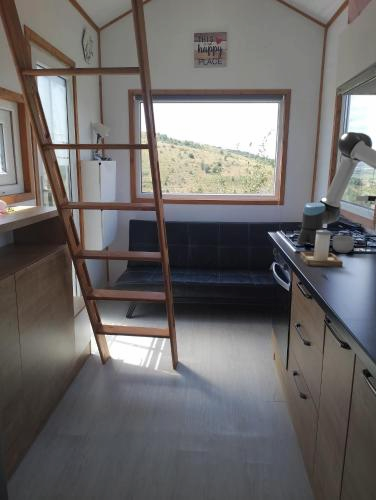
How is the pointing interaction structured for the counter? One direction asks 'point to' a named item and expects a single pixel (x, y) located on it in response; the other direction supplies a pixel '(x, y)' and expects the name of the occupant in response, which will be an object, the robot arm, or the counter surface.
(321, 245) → the canister
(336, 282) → the counter surface
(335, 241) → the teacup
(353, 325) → the counter surface
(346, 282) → the counter surface
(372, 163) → the robot arm
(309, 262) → the tray
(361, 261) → the counter surface
